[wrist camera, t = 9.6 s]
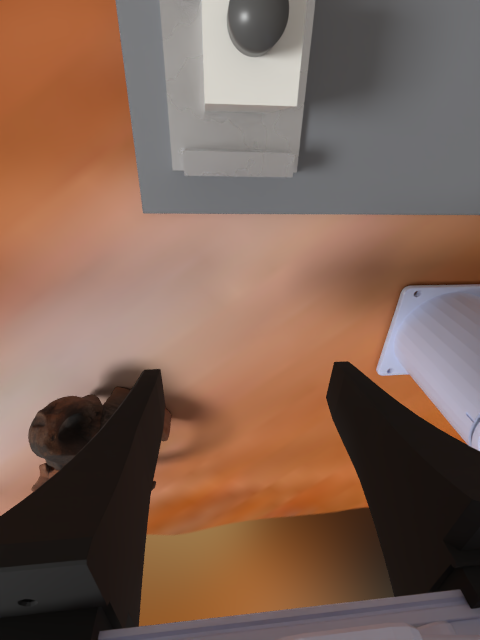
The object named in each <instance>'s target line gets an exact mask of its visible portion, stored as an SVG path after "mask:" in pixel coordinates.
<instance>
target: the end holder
mask: <svg viewBox="0 0 480 640" xmlns="http://www.w3.org/2000/svg"><path fill="white" fill-rule="evenodd" d="M159 1H160V13H161V26H162V39H163V52H164V65H165V78H166V91H167V104H168V117H169V130H170V143H171V156H172V169H173V170H180V171H184V176H233V177H293V173H297V165H298V156H299V147H300V138H301V129H302V119H303V110H304V101H305V92H306V83H307V73H308V64H309V55H310V46H311V37H312V27H313V18H314V9H315V0H307V4H306V15H305V25H304V36H303V47H302V57H301V68H300V78H299V89H298V99H297V106H296V107H292V108H288V109H283V110H279V111H275V112H271V113H248V112H214V111H205V99H204V67H203V34H202V2H201V0H159Z"/></svg>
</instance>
